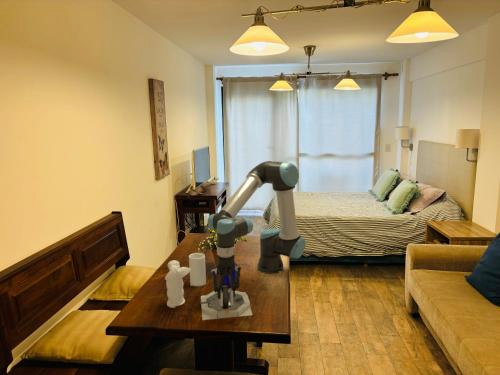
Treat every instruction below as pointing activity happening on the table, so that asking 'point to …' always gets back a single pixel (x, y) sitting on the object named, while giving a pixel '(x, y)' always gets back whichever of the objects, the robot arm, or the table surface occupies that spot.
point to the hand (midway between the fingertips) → (226, 303)
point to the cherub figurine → (175, 283)
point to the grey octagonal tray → (214, 314)
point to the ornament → (226, 278)
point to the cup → (197, 269)
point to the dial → (225, 301)
